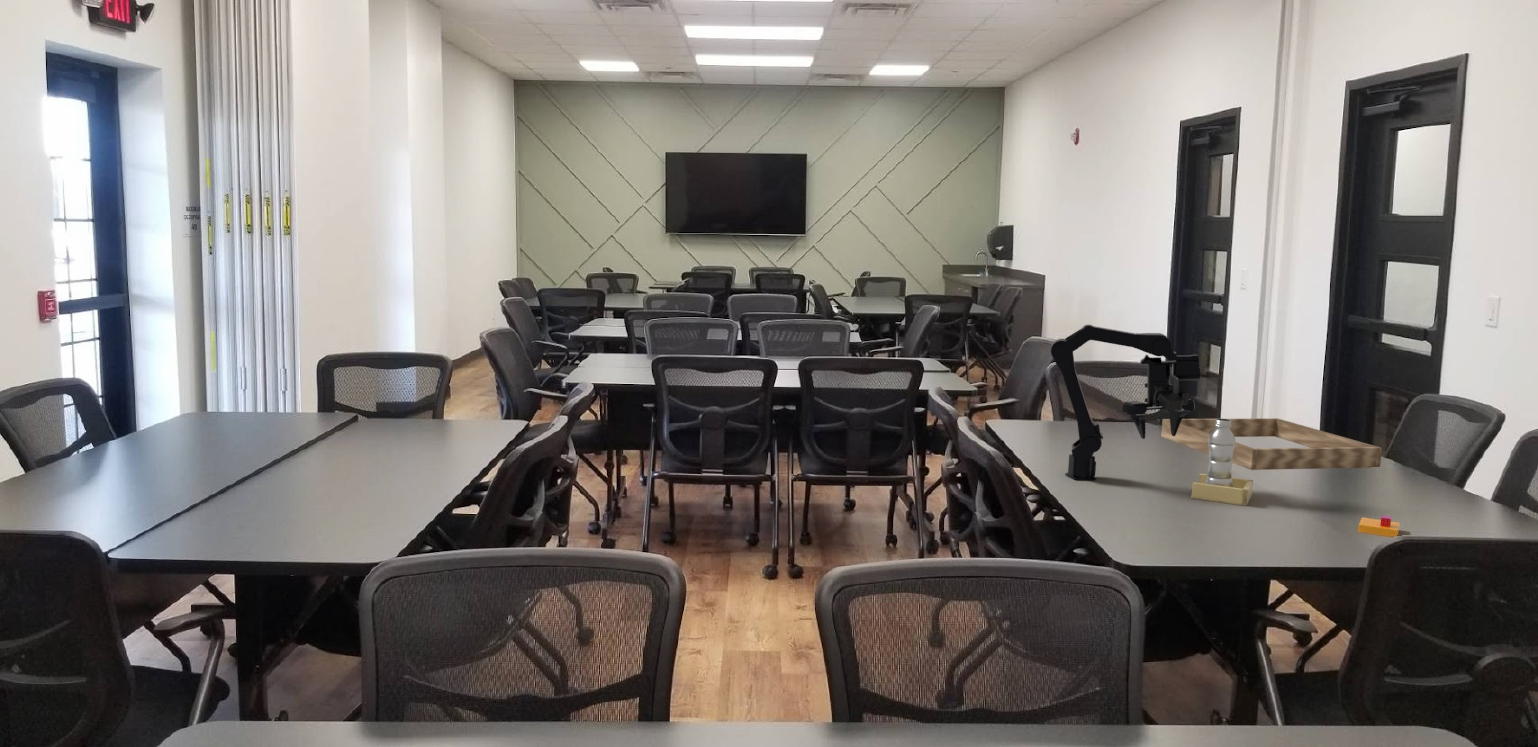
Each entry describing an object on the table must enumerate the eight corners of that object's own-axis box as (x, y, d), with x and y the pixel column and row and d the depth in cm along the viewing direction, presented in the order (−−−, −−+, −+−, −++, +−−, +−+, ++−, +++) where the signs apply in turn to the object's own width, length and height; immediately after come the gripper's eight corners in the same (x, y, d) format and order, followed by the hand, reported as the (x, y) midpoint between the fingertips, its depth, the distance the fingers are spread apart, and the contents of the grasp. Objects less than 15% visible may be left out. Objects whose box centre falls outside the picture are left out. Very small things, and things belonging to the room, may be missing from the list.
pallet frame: (1251, 469, 320) (1252, 449, 319) (1161, 436, 368) (1162, 419, 367) (1379, 467, 328) (1382, 447, 328) (1275, 435, 376) (1277, 418, 375)
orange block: (1358, 533, 256) (1359, 515, 256) (1361, 526, 263) (1362, 508, 263) (1397, 539, 252) (1399, 521, 252) (1399, 531, 259) (1401, 514, 258)
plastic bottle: (1229, 499, 283) (1235, 423, 280) (1202, 495, 286) (1207, 420, 283) (1234, 493, 288) (1239, 419, 285) (1207, 490, 292) (1212, 416, 289)
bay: (1191, 498, 284) (1192, 483, 284) (1198, 487, 296) (1199, 473, 295) (1246, 505, 278) (1247, 490, 277) (1251, 495, 289) (1253, 480, 289)
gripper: (1144, 386, 285) (1144, 445, 287) (1207, 381, 290) (1207, 439, 292) (1121, 381, 296) (1121, 438, 298) (1182, 376, 300) (1182, 432, 302)
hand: (1158, 437), depth 297 cm, fingers open, 9 cm apart
